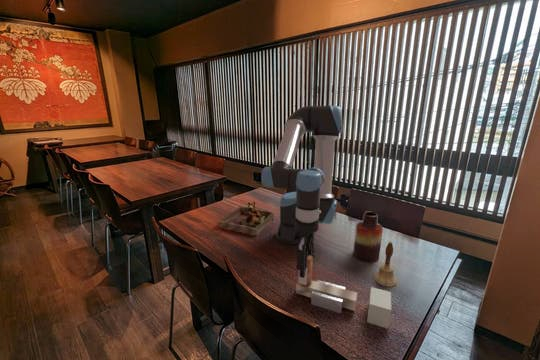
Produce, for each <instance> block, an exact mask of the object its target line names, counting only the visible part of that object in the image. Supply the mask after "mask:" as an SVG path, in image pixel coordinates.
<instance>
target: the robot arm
mask: <svg viewBox="0 0 540 360" xmlns="http://www.w3.org/2000/svg"><path fill="white" fill-rule="evenodd" d="M342 112H343V111H342V107H340V106H338V105H306V106H302V107H300V108H298V109H296V110H295V111H293V113H291V114H290V116H288V118H287V119H286V121H285V123H284V127H283V128H284V132H283V135H282V137H281V138H282V139H281V141H280V143H279V145H278V149H277V151H276V154H275V156H274V159H273V161H272V164H271V166H264V167H263V168H262V171H261V176H260V177H261V178H260V180H261V184H262V186H263V187H265V188H271V189H282V190H283V189H284V190H293V191H292V192H287V193H284V194H283V195H282V196H281V197H280V203H279V212H280V213H279V214H280V215H279V219H280V220H279V221H280V222H279V225H278V228H277V230H276V239H277V241H279V242H280V243H282V244H285V245H293V246H294V245H295V246H296V249H297V250H296V266H295V267H296V270H297V271H298V270H299V279H298V278H297V282H298V283H300V284H304V285H306V284H307V267H306V266H307V256H308V254H309V255H311V256H312V257H313V259H314V257H315V255H314V254H313V253H314V252H315V251H314V246H315V244H314V243H315V233H317V232H318V231H319V226H320V225H319V224H321V225H323V224H324V225H326V224H327V225H329V224H332V223H333V220H334V216H335V212H336V208H337V203H338V200H336V199H335V195H334V194H333V193H332V184H333V174H334V173H333V172H334V158H335V149H336V148H335V145H336V141H337V139H338V138H339V137H340V134H342V133H343V115H342ZM305 133H312V137H313V138H314V139H315V149H314V161H313V162H314V164H313V167H310V168H308V169H304V168H303V169H302V168H293V165H294V163H295V159H296V156H297V152H298V149H299V146H300V142H301V139H302V137H303V136H304V135H305Z"/></svg>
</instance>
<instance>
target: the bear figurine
mask: <svg viewBox="0 0 540 360" xmlns="http://www.w3.org/2000/svg"><path fill="white" fill-rule="evenodd" d="M247 204H248V205H247V207H248V209H249V210H248V211H247V214H246V216H245V217H244V218H243V219H242V223H241V224H242V225H243V226H247V227H252V228H257V227H258V226H259V225H260V224H261V223H262V222H263V221H264V219H266V217H263V216H262V217H261V216H260V213H259V211H258V210H257V209H258V208H256V202H255V201H253V202H250V201H249V202H247Z"/></svg>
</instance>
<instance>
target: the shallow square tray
mask: <svg viewBox="0 0 540 360" xmlns="http://www.w3.org/2000/svg"><path fill="white" fill-rule="evenodd" d="M256 209H257V210H258V211H259V213H260V215H261V216H265V218H264V219H265V220H264V221H263V222H262V223H261V224H260V225H259V226H258V227H257V228H252V227H247V226H243V224H242V225H241V224H237V223H232V222H231V221H232V220H231V219H232V218H234V217H235V216H236V215H238V214H239V213H240V212H246V213H247V211H248V210H249V209H248V206H242V205H240V206H239V207H237V208H236V209H235V210H233V211H231V212H230V213H229V214H228V215H226V216H225V217H224V218H222V219H221V220H219V221H218V224H219V228H220V227H222V228H226V229H230V230H234V231H233V232H235V231H238V232H237V233H239V232H243V233H242V234H244V233H247V234H246V235H248V234H250V235H249V236H253V235H255V236H254V237H258V236H259V235H260V234H261V233H262V232H263V231H264V230H265V229H266V228H267V227H266V226H267V225H268V226H269V225H270V223H272V221H273V220H274V219H275V212H274V211H271V210H270V211H269V210H264V209H259V208H256ZM239 215H240V214H239ZM239 215H238V216H239ZM261 216H260V217H261ZM266 217H267V218H266ZM235 218H236V217H235ZM235 218H234V219H235ZM273 218H274V219H273ZM272 219H273V220H272ZM230 220H231V221H230ZM229 221H230V222H229ZM265 227H266V228H265ZM222 228H221V229H222ZM264 228H265V229H264ZM226 229H225V230H226ZM263 229H264V230H263ZM230 230H229V231H230ZM262 230H263V231H262ZM261 231H262V232H261ZM260 232H261V233H260ZM259 233H260V234H259ZM258 234H259V235H258ZM257 235H258V236H257Z"/></svg>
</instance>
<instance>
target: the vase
mask: <svg viewBox="0 0 540 360" xmlns="http://www.w3.org/2000/svg"><path fill="white" fill-rule="evenodd" d="M378 216H379V215H378V213H376V212H373V211H365V212H364V213H363V217H362V220H360V221H358V222H357V223H356V225H355V234H354V243H353V255H354V256H353V257H355V258H356V259H357V260H359V261H361V262H364V263H376V262H378V261H379V259H380V253H381V246H382V240H383V232H384V231H383V230H384V228H383V226H382V225H381V224H380V223H378V221H379V220H378V219H379V217H378Z"/></svg>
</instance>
